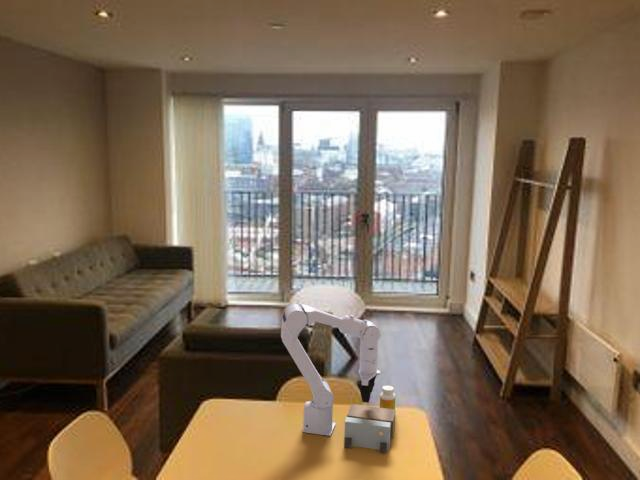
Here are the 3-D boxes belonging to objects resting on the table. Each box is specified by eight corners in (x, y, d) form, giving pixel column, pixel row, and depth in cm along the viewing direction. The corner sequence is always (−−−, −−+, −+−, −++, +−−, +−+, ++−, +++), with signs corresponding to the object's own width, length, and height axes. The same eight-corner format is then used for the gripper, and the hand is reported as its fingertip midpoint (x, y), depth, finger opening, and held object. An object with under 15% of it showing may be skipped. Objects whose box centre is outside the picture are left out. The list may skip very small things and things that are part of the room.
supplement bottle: (394, 418, 190) (395, 392, 189) (378, 416, 191) (379, 390, 190) (395, 410, 196) (396, 385, 194) (380, 409, 197) (381, 383, 195)
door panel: (343, 446, 172) (344, 423, 171) (345, 439, 176) (346, 416, 175) (388, 453, 169) (389, 429, 168) (389, 446, 173) (390, 422, 172)
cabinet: (341, 447, 172) (341, 429, 171) (350, 420, 188) (351, 404, 187) (389, 454, 168) (390, 436, 167) (394, 426, 185) (395, 409, 184)
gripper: (377, 368, 173) (376, 408, 176) (383, 351, 187) (381, 388, 189) (355, 365, 175) (354, 405, 177) (362, 349, 189) (361, 386, 191)
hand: (367, 396), depth 183 cm, fingers open, 7 cm apart
